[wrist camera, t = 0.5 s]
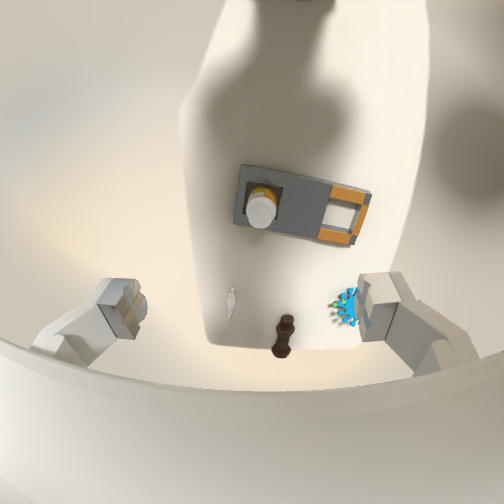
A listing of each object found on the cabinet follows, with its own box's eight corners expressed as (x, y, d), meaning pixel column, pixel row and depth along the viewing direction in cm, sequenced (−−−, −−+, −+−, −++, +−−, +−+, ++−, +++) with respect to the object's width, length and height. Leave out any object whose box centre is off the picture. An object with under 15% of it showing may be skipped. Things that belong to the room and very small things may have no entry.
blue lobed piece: (378, 290, 62) (371, 329, 60) (370, 291, 68) (363, 328, 66) (338, 282, 64) (330, 322, 62) (333, 284, 69) (325, 321, 68)
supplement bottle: (279, 205, 54) (279, 229, 46) (253, 211, 55) (249, 235, 47) (272, 181, 51) (271, 200, 43) (245, 188, 53) (240, 208, 45)
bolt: (290, 307, 72) (283, 342, 80) (274, 313, 70) (268, 347, 78) (301, 321, 68) (292, 355, 76) (285, 327, 66) (278, 361, 74)
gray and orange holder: (241, 164, 50) (240, 167, 48) (369, 190, 50) (372, 195, 48) (234, 219, 57) (232, 224, 55) (351, 240, 57) (354, 245, 55)
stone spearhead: (227, 284, 67) (226, 290, 65) (238, 286, 67) (237, 291, 65) (223, 321, 76) (222, 326, 74) (232, 323, 76) (232, 328, 74)
